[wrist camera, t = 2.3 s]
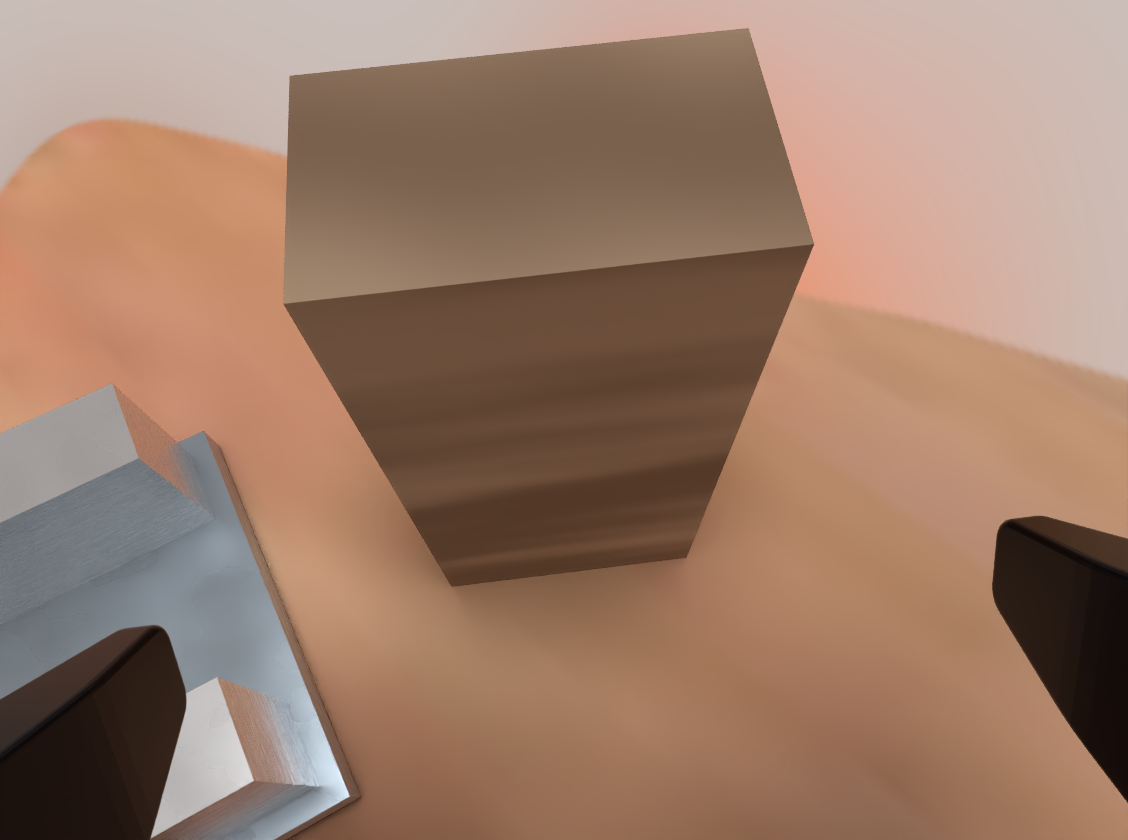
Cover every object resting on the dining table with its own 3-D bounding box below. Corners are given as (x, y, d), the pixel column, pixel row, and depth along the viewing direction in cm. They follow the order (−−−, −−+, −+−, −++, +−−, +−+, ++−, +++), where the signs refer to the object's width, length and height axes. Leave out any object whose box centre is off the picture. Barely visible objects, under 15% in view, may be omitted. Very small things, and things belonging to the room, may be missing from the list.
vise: (434, 980, 17) (383, 1040, 13) (5, 1250, 16) (-228, 1429, 11) (218, 446, 23) (128, 355, 18) (-120, 605, 21) (-312, 551, 17)
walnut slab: (686, 557, 21) (814, 244, 9) (451, 586, 21) (283, 303, 9) (662, 433, 23) (748, 28, 11) (443, 459, 22) (289, 76, 11)
